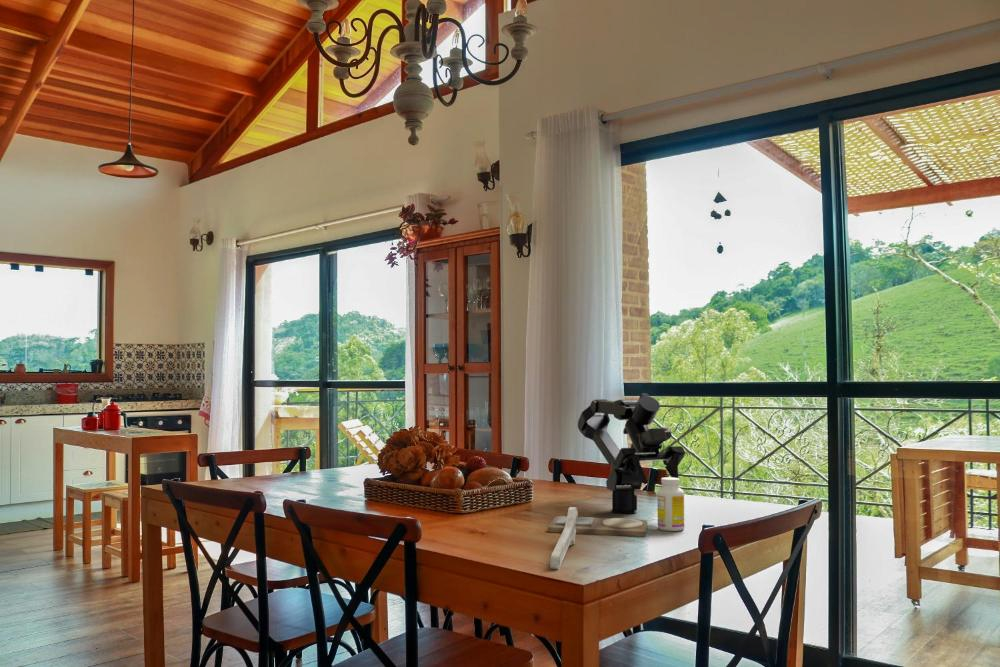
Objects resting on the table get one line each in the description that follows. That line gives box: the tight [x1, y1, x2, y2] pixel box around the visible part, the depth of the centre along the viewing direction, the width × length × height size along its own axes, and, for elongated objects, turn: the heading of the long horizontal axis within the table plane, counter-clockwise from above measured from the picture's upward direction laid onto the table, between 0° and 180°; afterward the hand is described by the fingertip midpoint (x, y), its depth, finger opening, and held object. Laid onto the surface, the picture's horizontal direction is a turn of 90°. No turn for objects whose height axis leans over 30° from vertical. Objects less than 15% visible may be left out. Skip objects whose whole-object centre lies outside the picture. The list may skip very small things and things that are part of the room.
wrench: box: [549, 506, 579, 570], centre depth 184 cm, size 8×2×30 cm
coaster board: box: [547, 515, 648, 537], centre depth 212 cm, size 24×15×2 cm, turn 79°
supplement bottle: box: [656, 476, 685, 532], centre depth 212 cm, size 7×7×13 cm
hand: (661, 482), depth 216 cm, fingers open, 9 cm apart
